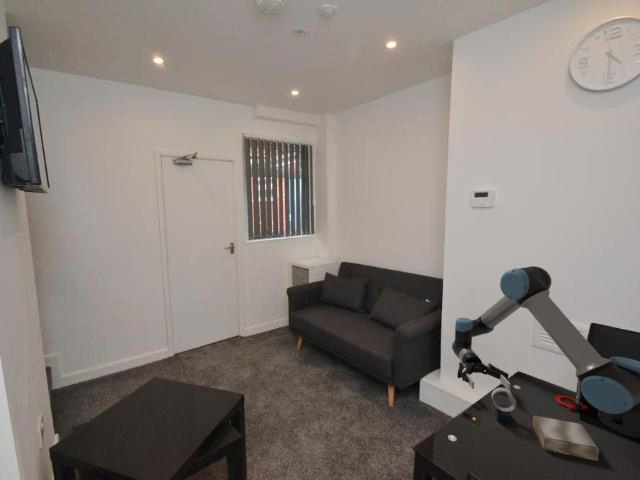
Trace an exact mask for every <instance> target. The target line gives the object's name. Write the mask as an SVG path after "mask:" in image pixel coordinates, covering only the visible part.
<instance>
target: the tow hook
mask: <svg viewBox="0 0 640 480" xmlns="http://www.w3.org/2000/svg"><path fill="white" fill-rule="evenodd" d="M581 389H582V388H581V382H580V380H579V379H578V378H577V382H576V394H575V398H574V397H571V396H567V395H564V394H563V395H559V394H558V395H556V396H555V398H554V400H555V401H556V403H557V404H559V405H561V406H563V407H564V408H565V407H566V408H567V409H568V411H577V412H578V411H588V410H589V407H588V406H587V405H583V402H582V397H581V393H582V391H581ZM562 400H569V401H571V402H573V405H572V404H569V403H566V402H564V401H562Z"/></svg>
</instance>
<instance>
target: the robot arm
mask: <svg viewBox="0 0 640 480" xmlns="http://www.w3.org/2000/svg"><path fill="white" fill-rule="evenodd" d="M499 282H500V283H499V287H500V291H501V293H502V294H503V295H504V296H502V298H500V299H499V300H498V301H497V302H496V303H494V304H493V305H492V306H491V307H489V308H488V309H487V310H486V311H485V312H483V313H482V314H481V315H480V316H479V317H477V318H476V319H473V320H472V319H471V318H468V317H457V318H456V320H455V326H454V340H453V342H452V343H451V349H452V351H453V353H454V355H456V357H457V358H458V359H459V361H460V362H459V363H458V368H457V369H458V370H457V374H456V375H457V378H458V379H461V378H462V379H461V380H462V381H463V382H465V383H467V384H468V385H469V386H470V388H471V389H473V390H474V389H475V381H474V380H473V378H472V377H471V376H470V375H472V374H474V373H475V374H478V373H479V374H483V375H485V376H487V375H488V376H489V377H490V376H491V377H493V378H495V379H498V380H500V381H499V382H500V383H501V384H502V385H503V386H504V388H506V389H508V390H510V391H511V385H512V384H511V382H509V381H510V380H509V373H507V372H506V371H504V370H502V369H500V368H498V367H497V366H494V365H493V364H492V363H489V362H488V365H487V364H484V362H483V361H482V359H481V358H480V357H479V355H478V354H477V353H476V352H475V351H474V350H473V349H472V343H473V338H474V337H478V336H482V335H487V334H489V333H491V332H493V331H494V329H495V328H496V326H497V325H499V324H500V323H501V322H503V321H505V319H507V318H508V317H509V316H511V315H512V314H513V313H515V312H516V311H517V310H519V309H521V308H524V309H527V310H528V311H529V312H530V314H531V315H532V316H533V317H534V319H535V320H536V321H537V323H539V325H540V326H541V327H542V329H544V331H545V332H546V333H547V335H548V336H549V337H550V338H551V340H552V341H553V342H554V344H556V346H557V347H558V348H559V350H560V351H561V352H562V353H563V354H564V355H565V357H566V358H567V360H569V361H570V363H571V364H572V365H573V368H575V377H576V378H577V380H578V379H579V380H580V382H581V393H582V395H583V397H584V400H586V401H587V402H588V403H589V404H590V405H591V406H593V407H594V408H596V410H598V412H597V413H598V414H597V415H598V417H597V418H598V419H599V421H600V422H602V423H603V424H604V425H605V426H606V427H608V428H609V429H612V430H613V431H616V432H618V433H619V434H622V435H623V436H628V437H630V438H634V439H638V440H640V361H639V360H636V359H633V358H628V357H623V356H611V357H609V358H605V357H602V356H601V355H600V354H599V353H598V352H597V350H596V349H595V348H594V346H592V344H591V343H590V341H588V340H587V338H586V337H584V336H583V334H582V333H581V332H580V330H579V329H578V328H577V327H576V326H575V325H574V323H572V321H571V320H570V319H569V318H568V317H567V316H566V315H565V314H564V313H563V311H562V310H561V309H560V308H559V306H557V304H556V303H555V302H554V301H553V299H552V298H550V288H551V286H552V277H551V275H550V273H549V272H548V271H547V270H545V269H544V268H542V267H540V266H526V267H518V268H517V267H516V268H513V269H510V270H507V271H505V272H504V273H503V274H502V276H501V278H500V281H499Z"/></svg>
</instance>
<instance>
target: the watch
mask: <svg viewBox="0 0 640 480" xmlns="http://www.w3.org/2000/svg"><path fill="white" fill-rule="evenodd" d="M497 393H505V394H506V396H507V397H508V400H509V402H510V403H511V405H510V406H506V405H501V404H500V405H499V404H498V403H497V401H496V400H495V397H494V396H495V395H496V394H497ZM491 400H492V404H493V406H494V415H495V418H496V421H497V423H502V424H507V423H508V424H509V425H512V417H513V416H512V413H511V412H513V411H514V410H516V408H517V405H518V403H517V401H516V398H515V397H514V395H513V393H512V391H511V389H510V390H508V389H507V388H506V387H500V386H499V387H496V388H494V389H493V390H492V392H491ZM508 424H507V425H508Z"/></svg>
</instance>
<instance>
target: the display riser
mask: <svg viewBox="0 0 640 480" xmlns="http://www.w3.org/2000/svg"><path fill="white" fill-rule="evenodd" d="M532 427H533V430H534V429H535V430H534V431H535V434H536V436H537V438H538V441H539V443H540V445H541V448H542V450H544V451H548V450H549V451H548V452H552V451H553V453H557V452H559V453H558V454H562V453H563V455H567V456H571V455H572V457H577V458H581V459H587V460H591V461H596V462H599V458H600V457H599V456H600V449H599V448H598V446H597V445H596V443H595V442H594V441H593V438H591V436H590V434H589V433H588V431H587V430H586V428H585V427H584V426H583V424H581V423H578V422H572V421H571V422H570V421H566V420H561V419H555V418H549V417H544V416H538V415H533V416H532Z"/></svg>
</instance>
